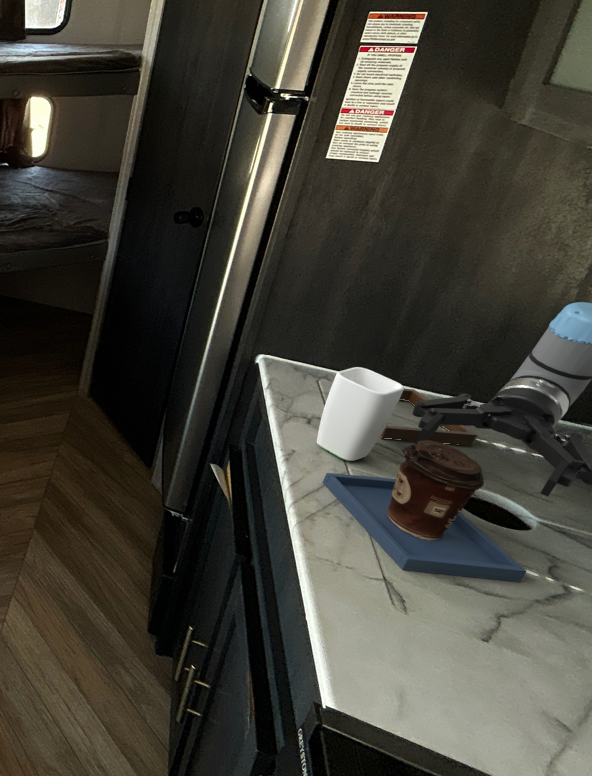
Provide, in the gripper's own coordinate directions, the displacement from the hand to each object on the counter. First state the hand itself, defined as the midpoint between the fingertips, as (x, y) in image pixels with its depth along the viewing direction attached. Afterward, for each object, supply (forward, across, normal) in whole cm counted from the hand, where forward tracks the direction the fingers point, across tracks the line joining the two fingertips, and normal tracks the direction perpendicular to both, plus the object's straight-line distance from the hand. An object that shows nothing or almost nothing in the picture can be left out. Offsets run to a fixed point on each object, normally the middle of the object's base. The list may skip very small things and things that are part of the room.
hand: (481, 460), depth 95 cm
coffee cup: (+11, -2, +8) cm, 14 cm away
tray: (+11, -2, +9) cm, 14 cm away
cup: (-1, -16, +10) cm, 19 cm away
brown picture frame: (-22, -14, +12) cm, 28 cm away
